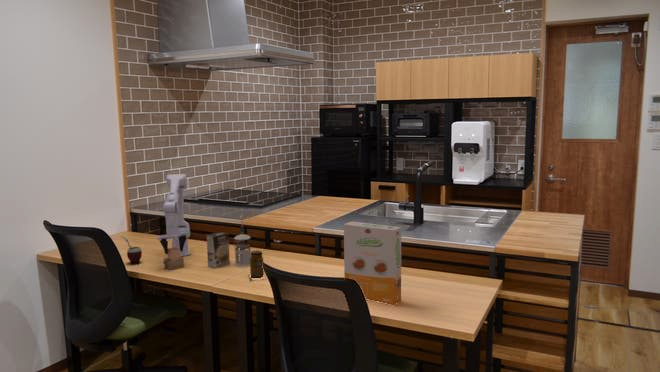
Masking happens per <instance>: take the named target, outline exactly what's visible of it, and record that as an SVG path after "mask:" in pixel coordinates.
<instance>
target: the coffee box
mask: <svg viewBox="0 0 660 372" xmlns="http://www.w3.org/2000/svg"><path fill="white" fill-rule="evenodd" d="M229 235H230V234H229V233H228V232H226V231H225V232H224V231H219V232H214V233H210V234H206V246H207V247H206V248H207V249H206V251H207V267H209V268H210V267H211V268H213V269H218V268H221V267H224V266H228V265H230V264H231V263H230V261H231V260H230V238H229V237H230V236H229Z"/></svg>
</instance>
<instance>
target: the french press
mask: <svg viewBox="0 0 660 372" xmlns="http://www.w3.org/2000/svg"><path fill="white" fill-rule="evenodd" d="M243 218H244V216H243V215H239V219H241V220H240V222H241V226H243ZM233 239H234V242H236V243H237V244H235V247H234V251H235V252H234V254H235V255H234V256H235V262H234V263H233V266H234V267H237V268H246V267H250V258H251V252H252V249H251V247H250V244H249V243H243V241H247V240H248V241H249V240H250V239H251V236H250V235H248V234H244V233H240V234H238V235H236V236H234V238H233ZM240 242H241V243H240Z"/></svg>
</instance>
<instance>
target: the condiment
mask: <svg viewBox="0 0 660 372" xmlns="http://www.w3.org/2000/svg"><path fill="white" fill-rule="evenodd" d="M250 254H251V256H250V257H251V258H250V266H249V267H250V274H248V278H249V276H250V275H251V278H261V277H263V275H265V271H263V268H264V267H263V268H262V263H263V264H264V257H263V251H261V250H253V251H252V250H251V253H250ZM251 278H249V281H252V279H251Z"/></svg>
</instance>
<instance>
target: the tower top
mask: <svg viewBox="0 0 660 372" xmlns="http://www.w3.org/2000/svg"><path fill="white" fill-rule="evenodd" d="M180 258H181V259H176V260H170V259H168V257H165V258H163V259H162V260H163V265H164V264H165V265H169V266H175V265H178V264H182V263H185V260H184V257H183V256H181V257H180ZM165 265H164V266H165Z"/></svg>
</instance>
